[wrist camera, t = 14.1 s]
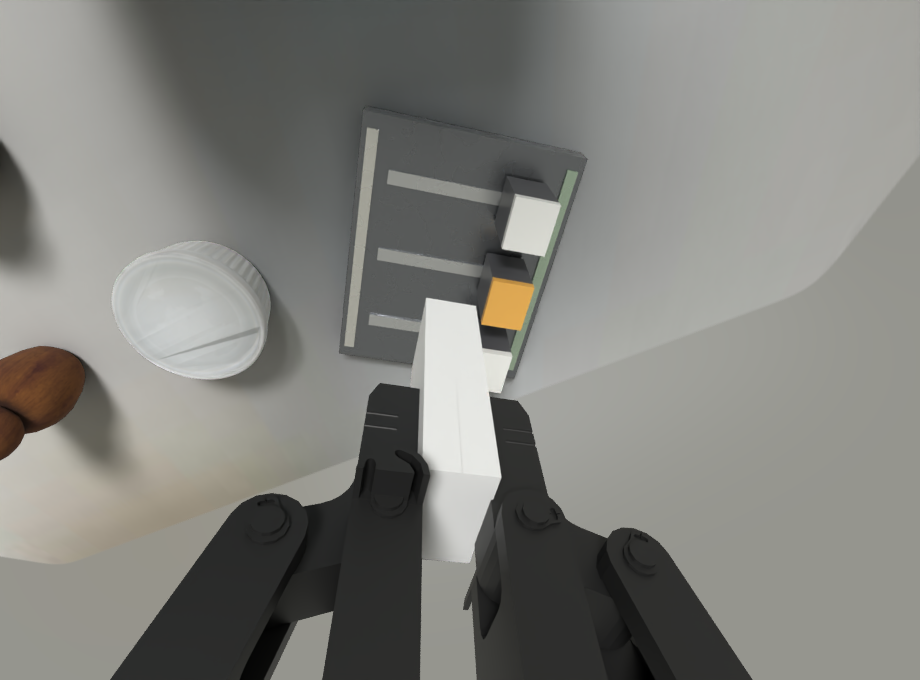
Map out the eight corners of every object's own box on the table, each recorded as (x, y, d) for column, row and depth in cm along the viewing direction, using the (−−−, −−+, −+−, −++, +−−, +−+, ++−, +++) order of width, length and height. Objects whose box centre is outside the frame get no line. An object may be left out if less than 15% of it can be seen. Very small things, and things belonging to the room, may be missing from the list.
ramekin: (243, 366, 47) (224, 403, 42) (122, 300, 43) (86, 333, 38) (307, 282, 42) (292, 313, 38) (178, 199, 38) (145, 223, 34)
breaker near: (494, 223, 38) (502, 248, 34) (506, 175, 36) (516, 196, 32) (532, 230, 38) (544, 256, 34) (546, 183, 36) (561, 205, 32)
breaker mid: (476, 293, 41) (481, 324, 37) (486, 252, 39) (493, 280, 35) (511, 298, 41) (520, 330, 37) (523, 259, 39) (534, 288, 35)
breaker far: (461, 352, 44) (464, 388, 40) (470, 318, 42) (474, 351, 38) (494, 357, 44) (500, 393, 40) (504, 323, 43) (512, 356, 38)
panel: (342, 340, 46) (338, 354, 44) (366, 105, 35) (362, 110, 33) (511, 365, 48) (514, 379, 46) (580, 152, 38) (588, 159, 36)
